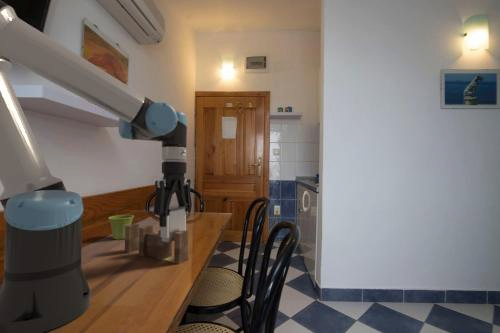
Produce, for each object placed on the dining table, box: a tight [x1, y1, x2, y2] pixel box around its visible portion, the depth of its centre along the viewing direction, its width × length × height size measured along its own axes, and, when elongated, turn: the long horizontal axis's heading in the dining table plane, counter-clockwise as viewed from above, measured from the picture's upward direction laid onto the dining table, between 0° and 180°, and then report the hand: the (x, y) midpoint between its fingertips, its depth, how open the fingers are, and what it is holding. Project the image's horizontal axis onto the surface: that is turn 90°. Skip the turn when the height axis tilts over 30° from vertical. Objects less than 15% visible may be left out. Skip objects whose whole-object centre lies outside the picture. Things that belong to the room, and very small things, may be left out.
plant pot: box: [108, 214, 135, 240], centre depth 104 cm, size 9×9×9 cm
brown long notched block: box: [124, 223, 189, 265], centre depth 82 cm, size 4×24×9 cm, turn 65°
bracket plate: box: [162, 204, 185, 243], centre depth 79 cm, size 7×3×10 cm, turn 155°
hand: (173, 233), depth 79 cm, fingers closed on bracket plate, 7 cm apart
